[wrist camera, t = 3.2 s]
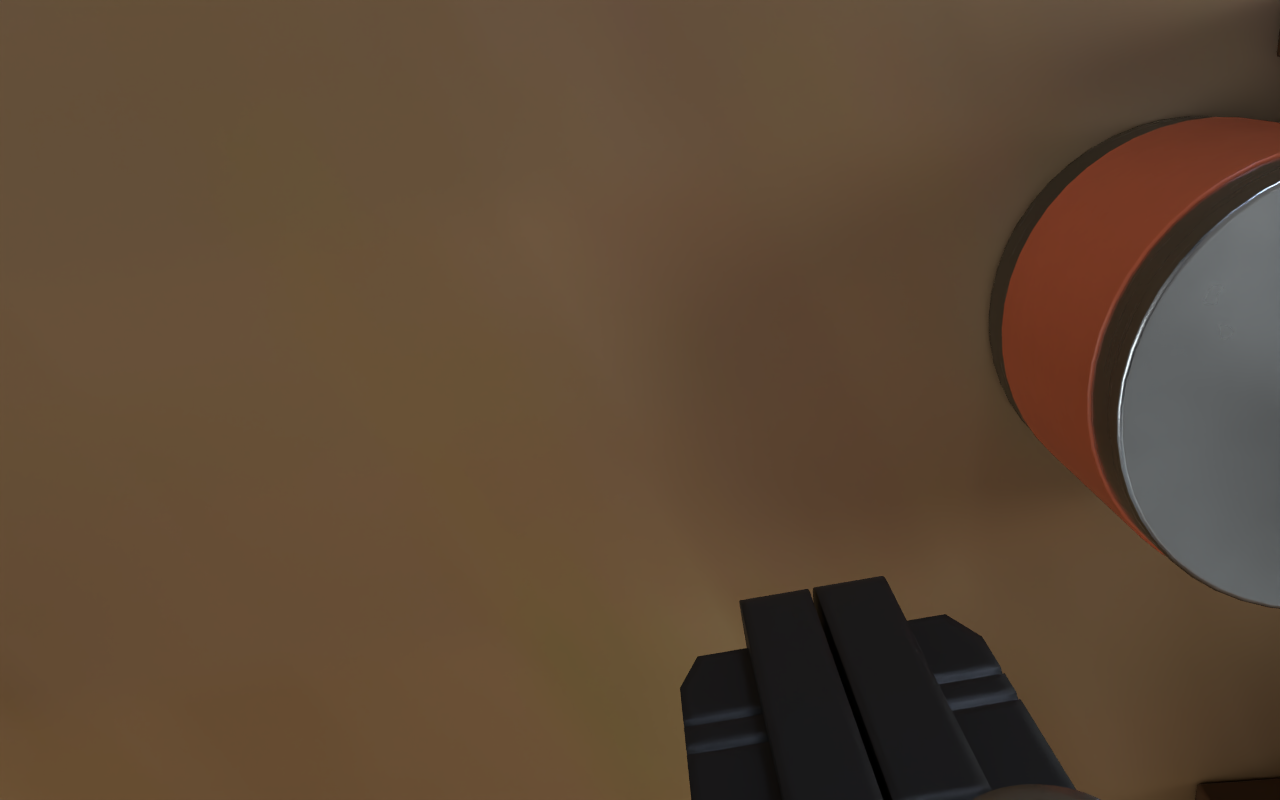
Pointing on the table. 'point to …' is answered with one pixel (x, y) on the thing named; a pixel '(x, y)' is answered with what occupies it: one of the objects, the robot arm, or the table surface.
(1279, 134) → the tin can
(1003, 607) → the table surface
